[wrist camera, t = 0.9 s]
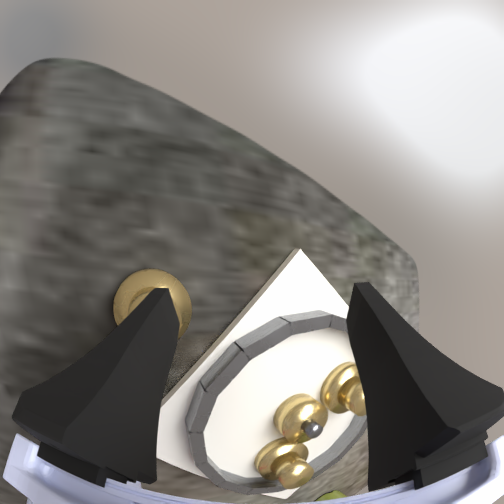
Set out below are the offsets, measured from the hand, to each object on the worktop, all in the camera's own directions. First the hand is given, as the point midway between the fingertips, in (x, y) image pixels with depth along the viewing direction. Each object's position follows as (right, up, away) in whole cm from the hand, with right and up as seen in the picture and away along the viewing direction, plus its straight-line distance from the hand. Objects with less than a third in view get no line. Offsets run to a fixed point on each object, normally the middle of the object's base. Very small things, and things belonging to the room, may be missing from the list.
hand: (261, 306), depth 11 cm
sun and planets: (+5, -16, +15) cm, 22 cm away
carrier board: (+4, -15, +15) cm, 21 cm away
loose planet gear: (-8, -2, +10) cm, 13 cm away
